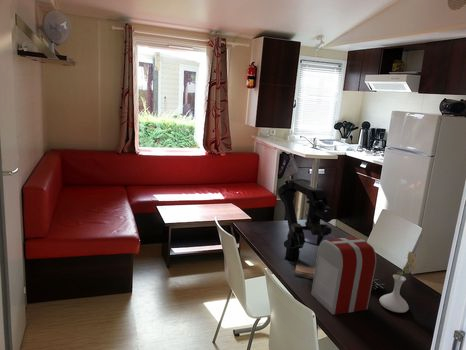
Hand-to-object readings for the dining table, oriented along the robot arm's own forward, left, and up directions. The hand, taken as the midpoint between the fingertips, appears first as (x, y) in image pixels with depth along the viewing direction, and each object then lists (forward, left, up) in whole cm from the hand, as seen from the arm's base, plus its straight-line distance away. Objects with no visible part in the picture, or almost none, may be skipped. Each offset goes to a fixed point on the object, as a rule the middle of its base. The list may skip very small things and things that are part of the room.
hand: (308, 245), depth 179 cm
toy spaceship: (+1, +47, -13) cm, 49 cm away
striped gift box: (+17, -23, -13) cm, 31 cm away
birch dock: (+7, -4, -13) cm, 15 cm away
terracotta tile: (+2, -4, -13) cm, 14 cm away
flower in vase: (+40, -17, -13) cm, 45 cm away
